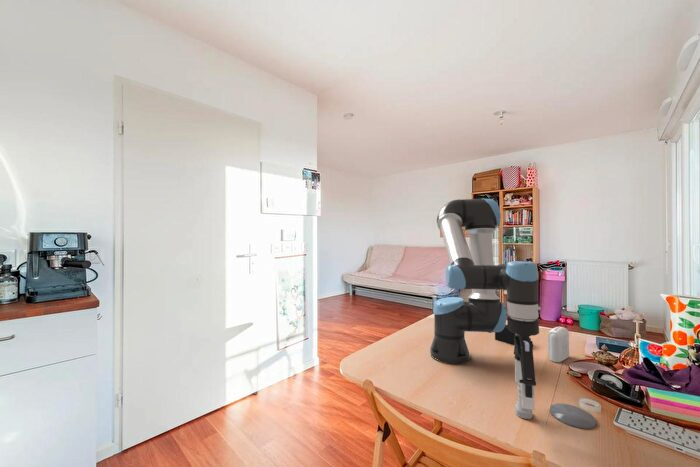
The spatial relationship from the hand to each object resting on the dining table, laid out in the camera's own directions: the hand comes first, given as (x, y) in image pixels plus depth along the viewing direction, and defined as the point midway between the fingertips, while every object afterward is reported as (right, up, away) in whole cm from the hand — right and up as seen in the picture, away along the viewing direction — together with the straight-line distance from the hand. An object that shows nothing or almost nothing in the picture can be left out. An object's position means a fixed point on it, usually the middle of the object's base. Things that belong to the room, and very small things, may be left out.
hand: (524, 394), depth 80 cm
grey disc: (+13, -6, -1) cm, 14 cm away
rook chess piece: (0, -6, +1) cm, 6 cm away
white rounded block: (+35, -5, +35) cm, 49 cm away
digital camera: (+25, -5, +53) cm, 58 cm away
